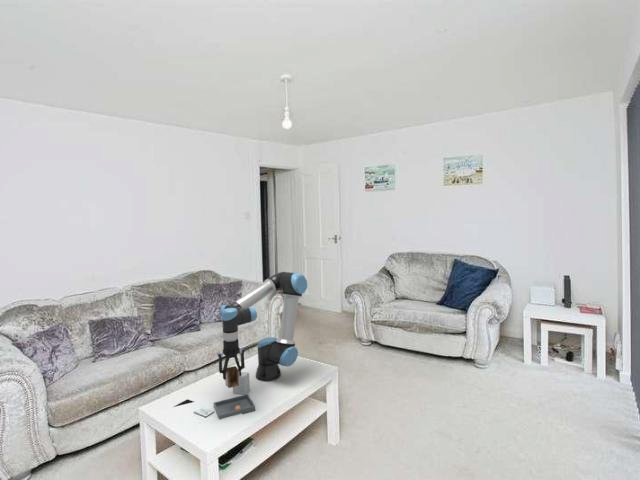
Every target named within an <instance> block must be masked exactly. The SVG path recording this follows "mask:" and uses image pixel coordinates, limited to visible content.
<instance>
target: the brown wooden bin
mask: <svg viewBox="0 0 640 480" xmlns="http://www.w3.org/2000/svg"><path fill="white" fill-rule="evenodd" d="M226 372H227V376H228V386H227V388H228V389H231V388H233V387H236V386H239V372H238V367H237V365H236V366H235V365H232V366H229V367H228V366H227V370H226Z"/></svg>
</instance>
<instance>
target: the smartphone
mask: <svg viewBox="0 0 640 480" xmlns="http://www.w3.org/2000/svg"><path fill="white" fill-rule="evenodd" d="M193 403H195V401H193V400H190V399H185V400H183V401H181V402H179V403H178V404H176V405H174V406H173V408H176V407H178V406H179V407H180V406H184V405H188V404H193Z"/></svg>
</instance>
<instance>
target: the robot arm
mask: <svg viewBox="0 0 640 480" xmlns="http://www.w3.org/2000/svg"><path fill="white" fill-rule="evenodd" d="M307 288H308V280H307V278H306V277H305V275H304V274H302V273H298V272H287V271H281V272H277V273H276V274H273V275H271V276H269V277H267V279H265V280H263V283H261V284H260V285H258V286H256V287H255V288H254V289H252V290H251V291H249V292H247V293H246V294H245V295H243V296H241V297H240V298H238V299H237V300H235V301H233V302H232V303H230V304H224V305H222V306H221V307H220V309H219V315H220V316H221V325H222V339H223V342H222V344H223V345H222V346H223V347H222V351H221V352H217V357H218V372H219V374H222V378H223V381H224V382H225V383H224V384H225V386H226V387H228V376H227V372H226V370H227V368H228V364H229V361H230V359H232V358H233V359H234V361H235V364H236V367H237V369H238V372H239V377H240V376H241V372H242V370H243V369H245V352H246V351H245V349H244V348H240V347H239V346H240V345H239V343H240V342H239V326H241V325H245V324H249V323H252V322H255V321H256V319H257V317H258V313H257V310H256V308H255V307H253V306H254V305H256V304H257V303H258V302H260V301H262V300H263V299H265V298H266V297H267V296H269V295H270V294H275V293H276V292H280V291H281V292H282V295H283V297H284V299H283V306H282V313H281V319H280V326H279V333H278V335H279V336H278V338H277V337H275V336H273V337H266V338H262V339H260V340H258V341H257V360H258V364H257V367H256V372H255V378H256V380H258V381H259V382H260V381H262V382H271V381H276V380H278V379H279V378H280V377H281V376H282V374H281V373H282V371H281V368H280V366H282V367H291V366H292V365H294V363H295V362H296V361H297V359H298V357H299V350H298V348H297V347H296V341H295V340H294V335H295V327H296V322H297V313H298V307H299V299H300V298H302V297H303V294H304V293H305V292H306V291H307ZM239 353H240V362H239V357H238V354H239ZM223 355H224V356H225V359H224V362H223ZM279 365H280V366H279ZM239 384H240V381H239Z"/></svg>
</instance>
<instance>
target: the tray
mask: <svg viewBox="0 0 640 480" xmlns="http://www.w3.org/2000/svg"><path fill="white" fill-rule="evenodd" d="M236 406H240V407H241V409H239V410H236V411H235V407H236ZM213 408H214V410H215V414H216V415H217V418H218V419H219V420H222V419H225V418H226V419H227V418H230V417H234V416H237V415H240V414H241V415H245V414H249V413H253V412H255V411H256V410H257V409H256V405H255V403H254V401H253V400H252V398H251V397H250V395H249V394H248V393H247V394H246V395H242V394H241V395H239V396H235V397H230V398H227V399H223V400H219V401H214V402H213Z"/></svg>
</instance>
